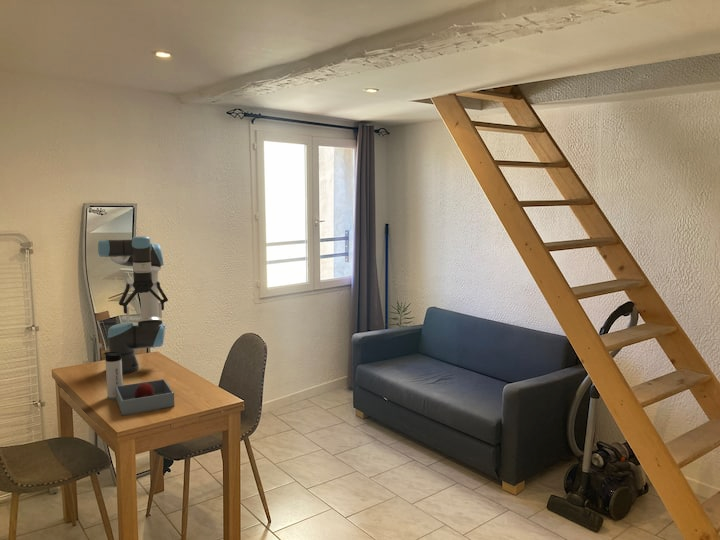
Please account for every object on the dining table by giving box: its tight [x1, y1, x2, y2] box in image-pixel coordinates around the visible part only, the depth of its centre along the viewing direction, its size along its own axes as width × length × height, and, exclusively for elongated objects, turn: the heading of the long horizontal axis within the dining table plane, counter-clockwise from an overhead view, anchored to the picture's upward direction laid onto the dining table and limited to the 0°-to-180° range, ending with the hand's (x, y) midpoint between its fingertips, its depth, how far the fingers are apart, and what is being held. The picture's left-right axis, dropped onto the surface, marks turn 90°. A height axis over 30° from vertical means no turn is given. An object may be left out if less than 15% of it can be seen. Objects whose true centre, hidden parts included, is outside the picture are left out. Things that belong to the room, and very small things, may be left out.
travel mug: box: [104, 351, 124, 401], centre depth 238 cm, size 6×7×20 cm
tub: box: [115, 378, 175, 417], centre depth 232 cm, size 20×20×6 cm
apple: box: [135, 383, 154, 398], centre depth 232 cm, size 7×8×8 cm
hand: (144, 319), depth 245 cm, fingers open, 13 cm apart
